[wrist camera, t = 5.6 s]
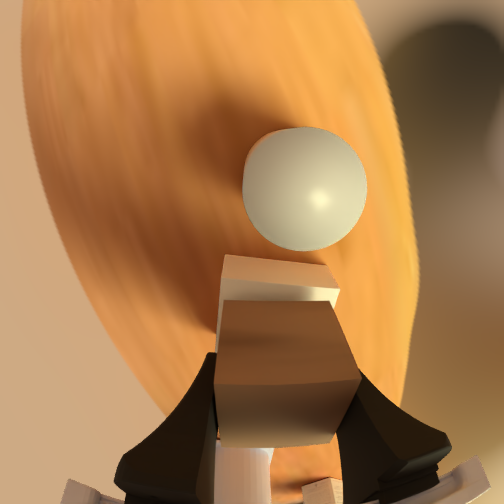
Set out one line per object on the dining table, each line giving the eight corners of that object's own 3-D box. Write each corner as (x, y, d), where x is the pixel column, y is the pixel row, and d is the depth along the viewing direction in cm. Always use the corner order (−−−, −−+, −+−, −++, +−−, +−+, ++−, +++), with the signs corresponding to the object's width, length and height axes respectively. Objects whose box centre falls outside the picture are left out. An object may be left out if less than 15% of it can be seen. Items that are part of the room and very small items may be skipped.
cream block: (303, 338, 19) (311, 369, 16) (217, 332, 18) (214, 363, 16) (325, 263, 16) (340, 288, 14) (225, 252, 16) (221, 277, 13)
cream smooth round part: (325, 215, 15) (357, 252, 10) (242, 211, 15) (241, 249, 10) (332, 133, 13) (372, 136, 9) (245, 127, 13) (244, 122, 8)
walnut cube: (313, 371, 15) (329, 443, 10) (226, 372, 15) (221, 447, 10) (329, 300, 13) (361, 378, 8) (223, 299, 13) (213, 383, 8)
